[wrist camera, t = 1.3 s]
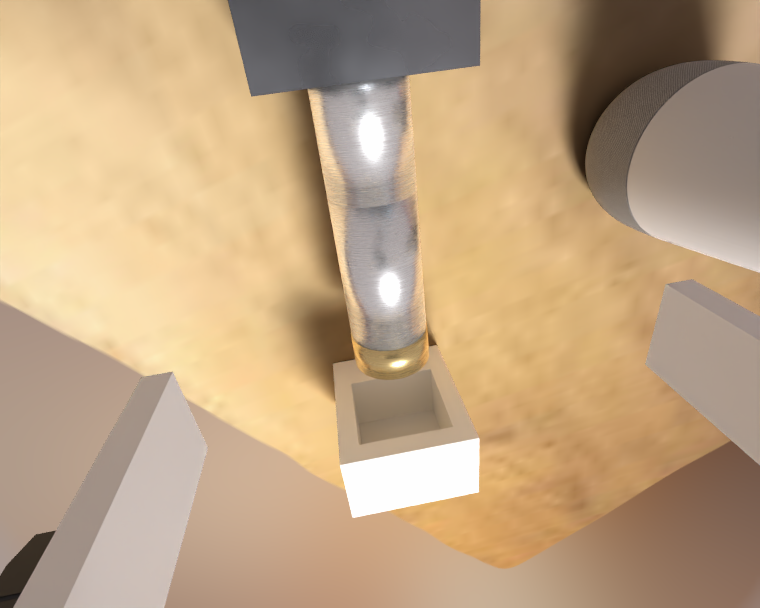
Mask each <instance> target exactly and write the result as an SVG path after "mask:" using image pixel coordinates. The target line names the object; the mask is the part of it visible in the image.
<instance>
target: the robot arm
mask: <svg viewBox="0 0 760 608" xmlns="http://www.w3.org/2000/svg"><path fill="white" fill-rule="evenodd" d="M645 365H646V366H648V367H649V368H650V369H651V370H652V371H653V372H654V373H656V374H657V375H658V376H659V377H660V378H661V379H662V380H664V381H665V382H666V383H667V384H668V385H669V386H670V387H671V388H673V389H674V390H675V391H676V392H677V393H678V394H679V395H681V396H682V397H683V398H684V399H685V400H686V401H687V402H689V403H690V404H691V405H692V406H693V407H694V408H695V409H696V410H698V411H699V412H700V413H701V414H702V415H703V416H704V417H706V418H707V419H708V420H709V421H710V422H711V423H712V424H714V425H715V426H716V427H717V428H718V429H719V430H720V431H721V432H723V433H724V434H725V435H726V436H727V437H728V438H729V439H731V440H732V441H733V442H734V443H735V444H736V445H738V446H739V447H740V448H741V449H742V450H743V451H744V452H745V453H747V454H748V455H749V456H750V457H751V458H752V459H753V460H754V461H756V462H757V463H758V464H759V465H760V316H758V315H756V314H754V313H753V312H751V311H749V310H747V309H745V308H743V307H742V306H740V305H738V304H736V303H734V302H732V301H731V300H729V299H727V298H725V297H723V296H721V295H720V294H718V293H716V292H714V291H712V290H711V289H709V288H707V287H705V286H703V285H701V284H700V283H698V282H696V281H694V280H686V281H681V282H675V283H670V284H666V285H665V289H664V293H663V297H662V301H661V305H660V309H659V313H658V317H657V321H656V324H655V328H654V332H653V336H652V340H651V344H650V348H649V352H648V356H647V360H646V363H645ZM207 449H208V447H207V445H206V442H205V440H204V438H203V436H202V434H201V432H200V430H199V427H198V425H197V423H196V421H195V419H194V417H193V415H192V413H191V410H190V408H189V406H188V404H187V402H186V399H185V397H184V395H183V393H182V391H181V389H180V387H179V384H178V382H177V380H176V378H175V376H174V374H173V372H168V373H163V374H157V375H152V376H146V377H141V379H140V381H139V382H138V384H137V386H136V388H135V390H134V391H133V393H132V395H131V397H130V399H129V401H128V402H127V404H126V406H125V408H124V409H123V411H122V413H121V415H120V417H119V419H118V420H117V422H116V424H115V426H114V427H113V429H112V431H111V433H110V435H109V436H108V438H107V440H106V442H105V444H104V445H103V447H102V449H101V451H100V453H99V454H98V456H97V458H96V460H95V462H94V463H93V465H92V467H91V469H90V471H89V472H88V474H87V476H86V478H85V480H84V481H83V483H82V485H81V487H80V489H79V490H78V492H77V494H76V496H75V498H74V499H73V501H72V503H71V505H70V507H69V508H68V510H67V512H66V514H65V516H64V518H63V519H62V521H61V523H60V525H59V527H58V528H57V530H56V531H52V532H47V533H42V534H36V535H35V536H34V537H33V538H32V539H31V540H30V541H29V542H28V543H27V545H26V546H25V547H24V548H23V549H22V550H21V551H20V552H19V553H18V554H17V555H16V556H15V557H14V558H13V559H12V560H11V562H9V564H8V565H7V566H6V567H5V569H4V571H3V572H2V574H1V576H0V608H164V606H165V602H166V598H167V595H168V591H169V588H170V584H171V580H172V577H173V573H174V569H175V566H176V562H177V558H178V555H179V551H180V548H181V544H182V540H183V537H184V533H185V529H186V526H187V522H188V519H189V515H190V511H191V508H192V504H193V500H194V497H195V493H196V489H197V485H198V482H199V478H200V475H201V471H202V468H203V463H204V460H205V457H206V453H207Z"/></svg>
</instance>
